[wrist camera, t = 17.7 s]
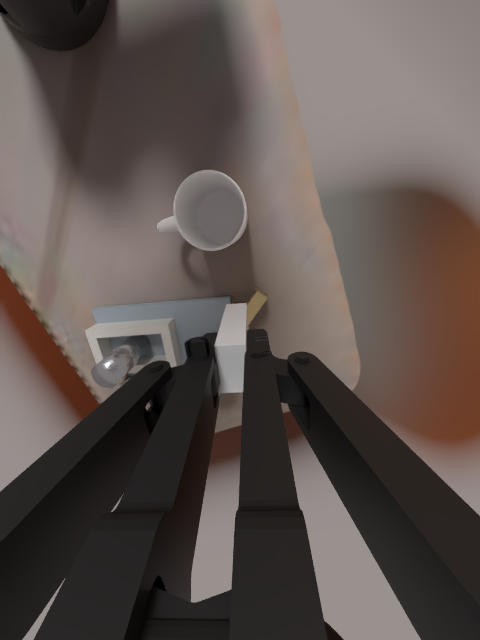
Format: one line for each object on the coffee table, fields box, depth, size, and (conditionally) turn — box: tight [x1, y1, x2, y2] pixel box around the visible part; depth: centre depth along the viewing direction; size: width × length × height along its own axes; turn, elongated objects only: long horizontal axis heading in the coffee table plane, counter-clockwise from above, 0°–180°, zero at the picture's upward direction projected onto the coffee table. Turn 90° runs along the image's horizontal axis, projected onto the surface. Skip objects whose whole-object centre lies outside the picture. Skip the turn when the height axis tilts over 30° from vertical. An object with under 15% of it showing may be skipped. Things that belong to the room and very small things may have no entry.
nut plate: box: [85, 296, 231, 397], centre depth 39 cm, size 16×24×10 cm, turn 95°
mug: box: [157, 170, 248, 251], centre depth 31 cm, size 12×8×10 cm
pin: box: [91, 335, 151, 388], centre depth 38 cm, size 4×4×10 cm
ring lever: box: [246, 288, 268, 325], centre depth 40 cm, size 18×7×2 cm, turn 147°
